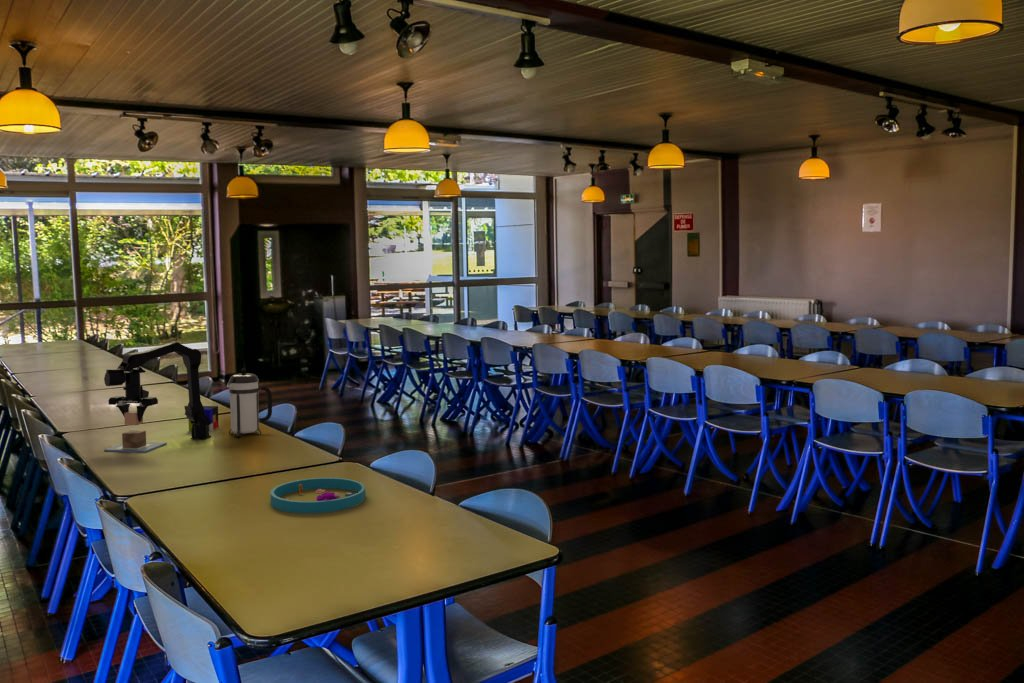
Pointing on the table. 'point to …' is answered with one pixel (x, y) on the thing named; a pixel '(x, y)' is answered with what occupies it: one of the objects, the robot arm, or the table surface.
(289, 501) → the teal ring
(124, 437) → the walnut block
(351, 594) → the table surface
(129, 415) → the terracotta block
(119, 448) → the mat
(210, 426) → the puzzle toy
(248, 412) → the coffee press
